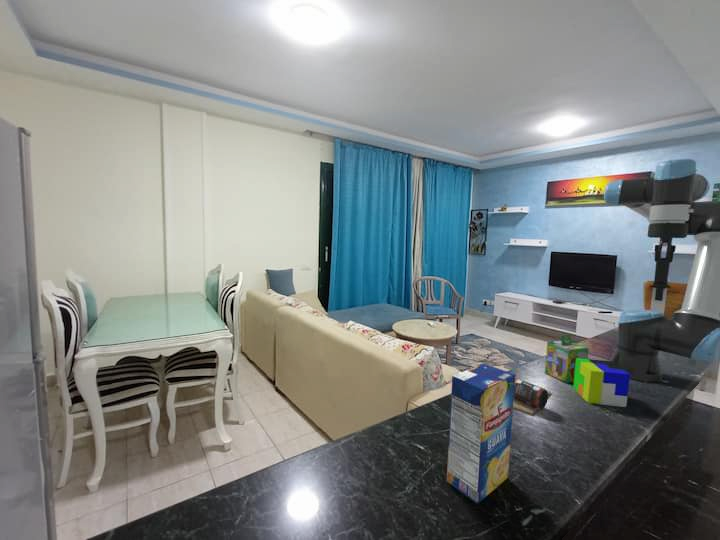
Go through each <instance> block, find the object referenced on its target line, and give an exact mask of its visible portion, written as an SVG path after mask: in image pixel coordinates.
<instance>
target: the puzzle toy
mask: <svg viewBox="0 0 720 540" xmlns="http://www.w3.org/2000/svg"><path fill="white" fill-rule="evenodd" d="M573 387H574V388H575V389H576V390H575V389H574V388H573ZM629 387H630V374H629V373H627V372H626V371H625V370H623V369H622V368H620V367H619V366H617V365H616V364H614V363H613V362H612V361H609V360H602V359H601V360H600V359H590V358H588V359H580V358H576V365H575V375H574V382H573V386H572V388H573V389H574V390H575V391H576V392H577V393H578V394H579V396H580V397H582V398H583V400H584V401H587V402H588V403H587V402H586V403H587V404H593V403H595V405H596V404H597V405H603V406H604V405H605V406H613V407H623V408H626V407H627V403H628V393H629Z"/></svg>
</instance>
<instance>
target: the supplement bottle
mask: <svg viewBox="0 0 720 540" xmlns="http://www.w3.org/2000/svg"><path fill="white" fill-rule="evenodd" d="M514 399H516V400H518V401H521V402H523V403H525V404H528V405H530V406H532V407H535V408H537V410H541V411H542V410H543V409H544V408H545V407H546V406H547V404H548V401H549V396H548V392H547V389H546V388H544V387H541V386H539V385H536V384H533V383H530V382H528V381H525V380H523V379H520V378H516V377H515V388H514Z"/></svg>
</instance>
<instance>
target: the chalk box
mask: <svg viewBox="0 0 720 540" xmlns="http://www.w3.org/2000/svg"><path fill="white" fill-rule="evenodd" d="M566 339H568V340H566ZM545 357H546V358H545V367H544V374H547V375H548V374H549V376H551V377H553V378H556V379H558V380H560V381H562V382H564V383H566V384H569V383H574V375H575V365H576V358H580V359H589V348H588V347H585V346H582V345H581V344H578V343H576V342H573V341H572V336H571V334H570V333H569V334H562V335H561V336H560V340H555V341H547V343H546V354H545Z"/></svg>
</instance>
